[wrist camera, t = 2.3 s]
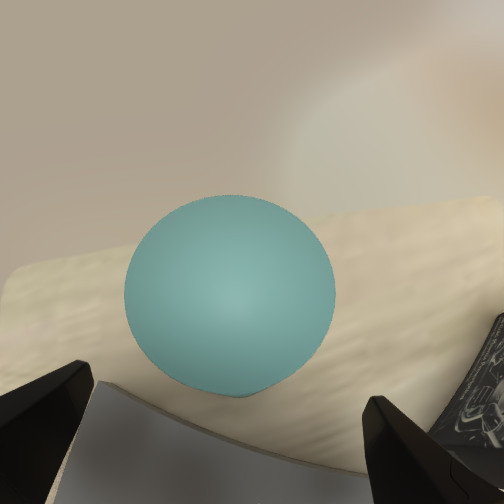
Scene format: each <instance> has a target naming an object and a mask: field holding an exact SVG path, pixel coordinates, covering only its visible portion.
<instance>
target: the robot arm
mask: <svg viewBox="0 0 504 504" xmlns="http://www.w3.org/2000/svg"><path fill="white" fill-rule="evenodd" d="M93 387H94V379H93V376H92V372H91V368H90V365H89V363H87V362H85V361H81V360H76V361H73V362H71V363H69V364H67V365H65V366H63V367H61V368H59V369H57V370H55V371H53V372H51V373H49V374H46V375H44V376H42V377H40V378H38V379H36V380H34V381H32V382H30V383H27V384H25V385H23V386H21V387H19V388H17V389H15V390H13V391H10V392H8V393H6V394H4V395H2V396H0V504H45V502H46V499H47V497H48V494H49V492H50V489H51V487H52V485H53V482H54V480H55V478H56V475H57V473H58V471H59V468H60V466H61V464H62V462H63V459H64V457H65V455H66V453H67V451H68V448H69V446H70V444H71V442H72V440H73V438H74V436H75V434H76V431H77V429H78V427H79V425H80V423H81V420H82V418H83V415H84V412H85V409H86V406H87V403H88V401H89V398H90V395H91V392H92V390H93ZM362 425H363V437H364V449H365V459H366V465H367V470H368V475H369V480H370V486H371V491H372V497H373V502H374V504H504V492H503V491H501V490H500V489H498V488H496V487H495V486H493V485H492V484H490V483H489V482H487V481H486V480H484V479H483V478H481V477H480V476H478V475H477V474H475V473H474V472H472V471H471V470H470V469H468V468H467V467H466V466H465V465H463V464H462V463H461V462H460V461H459V460H457V459H456V458H455V457H454V456H452V455H451V454H450V453H449V452H448V451H447V450H445V449H444V448H443V447H442V446H441V445H440V444H438V443H437V442H436V441H435V440H434V439H433V438H431V437H430V436H429V435H428V434H427V433H426V432H424V431H423V430H422V429H421V428H420V427H419V426H418V425H416V424H415V423H414V422H413V421H412V420H411V419H409V418H408V417H407V416H406V415H405V414H404V413H403V412H401V411H400V410H399V409H398V408H397V407H396V406H395V405H393V404H392V403H391V402H390V401H389V400H388V399H387V398H386V397H384V396H371V397H370V398H369V400H368V403H367V405H366V407H365V409H364V412H363V414H362Z"/></svg>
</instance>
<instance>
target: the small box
mask: <svg viewBox="0 0 504 504" xmlns="http://www.w3.org/2000/svg"><path fill="white" fill-rule="evenodd" d="M427 434H428V435H429V436H430V437H431V438H433V439H434V440H435V441H436V442H437V443H438V444H440V445H441V446H442V447H443V448H444V449H445V450H447V451H448V452H449V453H450V454H451V455H452V456H454V457H455V458H456V459H457V460H459V461H460V462H461V463H462V464H463V465H465V466H466V467H467V468H468V469H470V470H471V471H472V472H474V473H475V474H477V475H478V476H480V477H481V478H483V479H484V480H486V481H487V482H489V483H490V484H492V485H493V486H495V487H496V488H499V489H504V313H502V314H500V315H498V317H497V319H496V321H495V323H494V326H493V328H492V330H491V332H490V334H489V336H488V338H487V340H486V342H485V344H484V346H483V347H482V349H481V351H480V353H479V355H478V357H477V359H476V360H475V362H474V364H473V366H472V368H471V369H470V371H469V373H468V374H467V376H466V378H465V379H464V381H463V383H462V384H461V386H460V388H459V389H458V391H457V392H456V394H455V395H454V397H453V398H452V400H451V401H450V403H449V404H448V406H447V407H446V409H445V410H444V412H443V413H442V415H441V416H440V417H439V419H438V420H437V421H436V423H435V424H434V425H433V427H432V428H431V429H430V431H429V432H428V433H427Z"/></svg>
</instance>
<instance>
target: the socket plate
mask: <svg viewBox="0 0 504 504" xmlns="http://www.w3.org/2000/svg"><path fill="white" fill-rule="evenodd" d="M54 504H374V502H373V497H372V491H371V486H370V480H369V475H368V474H362V473H356V472H350V471H345V470H339V469H335V468H330V467H325V466H321V465H316V464H312V463H308V462H304V461H300V460H296V459H293V458H289V457H285V456H282V455H278V454H275V453H272V452H268V451H265V450H262V449H259V448H256V447H253V446H250V445H247V444H244V443H241V442H238V441H235V440H233V439H230V438H227V437H224V436H222V435H219V434H217V433H214V432H212V431H209V430H207V429H204V428H202V427H199V426H197V425H195V424H192V423H190V422H188V421H185V420H183V419H181V418H179V417H176V416H174V415H172V414H170V413H168V412H166V411H164V410H161V409H159V408H157V407H155V406H153V405H151V404H149V403H147V402H145V401H143V400H142V399H140V398H138V397H136V396H134V395H132V394H130V393H128V392H127V391H125V390H123V389H121V388H119V387H118V386H116V385H114V384H112V383H108V382H104V381H98V383H97V386H96V388H95V390H94V393H93V395H92V398H91V400H90V402H89V405H88V407H87V410H86V412H85V415H84V417H83V420H82V422H81V425H80V428H79V430H78V433H77V436H76V438H75V441H74V444H73V446H72V449H71V452H70V455H69V458H68V460H67V463H66V466H65V469H64V472H63V475H62V478H61V481H60V484H59V487H58V491H57V494H56V497H55V500H54Z"/></svg>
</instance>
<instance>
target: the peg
mask: <svg viewBox="0 0 504 504" xmlns="http://www.w3.org/2000/svg"><path fill="white" fill-rule="evenodd" d="M335 295H336V292H335V280H334V275H333V270H332V266H331V264H330V261H329V258H328V255H327V254H326V252H325V250H324V248H323V246H322V244H321V243H320V241H319V240H318V238H317V237H316V235H315V234H314V233H313V232H312V231H311V230H310V229H309V228H308V226H307V225H306V224H304V223H303V222H302V221H301V220H300V219H299V218H297V217H296V216H295V215H293V214H292V213H290V212H289V211H287V210H285V209H283V208H281V207H280V206H278V205H275V204H273V203H270V202H268V201H265V200H261V199H257V198H254V197H247V196H239V195H225V196H224V195H223V196H214V197H208V198H204V199H200V200H197V201H193V202H191V203H189V204H186V205H184V206H181V207H180V208H178V209H176V210H174V211H173V212H171V213H169V214H168V215H167V216H166V217H164V218H162V219H161V220H160V221H159V222H158V223H157V224H156V225H155V226H153V227H152V228H151V230H150V231H149V232H148V233H147V234H146V235H145V237H144V238H143V239H142V241H141V242H140V244H139V245H138V247H137V249H136V251H135V253H134V255H133V257H132V259H131V262H130V265H129V268H128V271H127V275H126V280H125V291H124V300H125V310H126V315H127V319H128V323H129V326H130V328H131V331H132V334H133V336H134V338H135V339H136V341H137V343H138V345H139V347H140V348H141V349H142V351H143V352H144V353H145V355H146V356H147V357H148V358H149V359H150V360H151V361H152V362H153V363H154V364H155V365H156V366H157V367H158V368H159V369H160V370H161V371H163V372H164V373H166V374H167V375H168V376H170V377H171V378H173V379H175V380H177V381H179V382H180V383H182V384H184V385H187V386H190V387H193V388H195V389H198V390H202V391H206V392H211V393H215V394H220V395H225V396H230V397H235V398H242V397H248V396H250V395H253V394H255V393H257V392H259V391H261V390H264V389H266V388H268V387H270V386H272V385H274V384H276V383H278V382H280V381H281V380H283V379H285V378H287V377H289V376H290V375H291V374H293V373H294V372H295V371H297V370H298V369H299V368H301V367H302V366H303V365H304V364H305V363H306V362H307V361H308V360H309V359H310V358H311V357H312V356H313V354H314V353H315V352H316V350H317V349H318V348H319V346H320V345H321V343H322V341H323V339H324V337H325V336H326V334H327V331H328V329H329V326H330V323H331V321H332V317H333V312H334V307H335Z"/></svg>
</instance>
